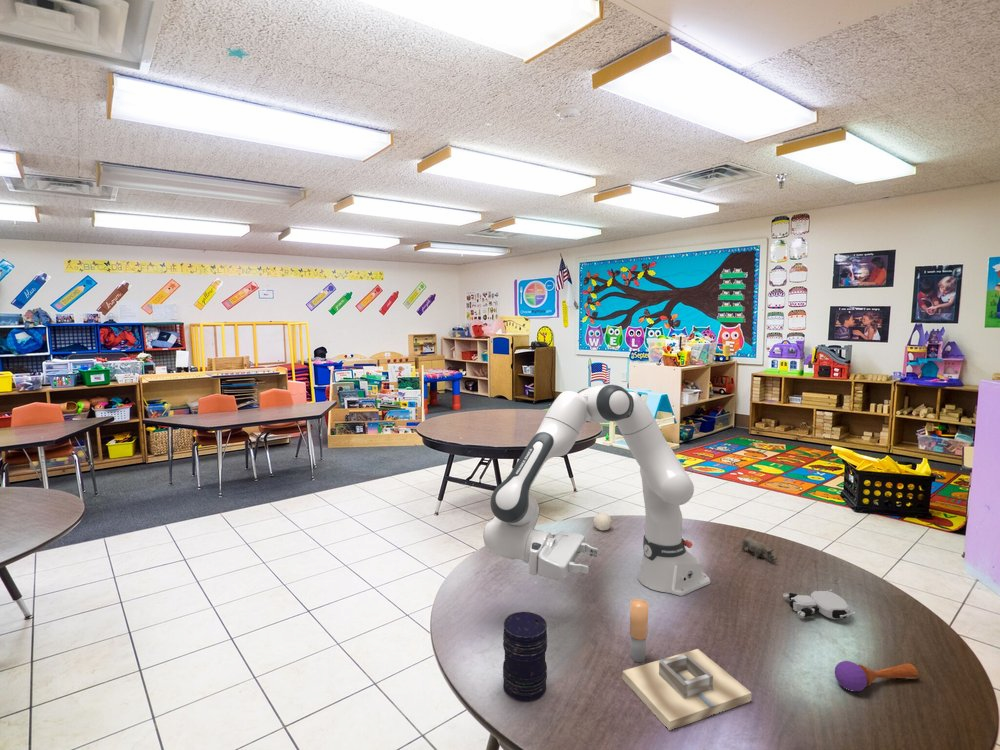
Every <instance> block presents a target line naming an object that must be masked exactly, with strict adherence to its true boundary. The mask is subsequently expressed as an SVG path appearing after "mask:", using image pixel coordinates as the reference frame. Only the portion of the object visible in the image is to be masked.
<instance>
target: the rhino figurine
mask: <svg viewBox="0 0 1000 750" xmlns="http://www.w3.org/2000/svg"><path fill="white" fill-rule="evenodd" d="M745 548H747V549H748V550H747V552H748V551H749V552H748V553H750V552H753V553H754V556H753V558H754V559H755V558H757V559H756V560H759V558H760V557H761V558H766V559H767V560H769V562H771V563H773V562H775V561H776V560H778V557H775V556H774V555H773V553H772V552H773V551H774V550H775V548H769V547H768V546H767V544H764V543H763V542H759V541H757V540H755V538H752V537H750V536H746V537H744V538H743V541H742V545H741V549H740V552H742V551H743V552H742V553H745V552H746V549H745ZM744 551H745V552H744ZM758 556H759V557H758ZM764 556H765V557H764ZM761 558H760V559H761Z"/></svg>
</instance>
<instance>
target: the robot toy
mask: <svg viewBox="0 0 1000 750" xmlns="http://www.w3.org/2000/svg"><path fill="white" fill-rule="evenodd" d="M832 591H833V589H829V590H814V591H812V592H811V594H810V595H806V594H805V595H801V594H797V593H792V592H789V593H785V592H784V593H783V594H782V597H783V598H784V599H789V603H788V604H789V607H790V608H792V610H794V612H797V615H798V616H800V617H804V618H808V617H811V616H812V614H817V613H820V614H821V615H823V616H824V617H826V618H828V619H832V620H836V619H837V620H840V619H845V620H846V619H847V618H849V617H850V616H851V615H854V616H855V615H856V614H857V612H855V611H854V612H851V609H850V608H851V607H850V605H849V604H848V602H847V601H846V600H845V599H844V598H842V597H841V596H839V595H838V594H836V593H834V592H832ZM850 612H851V613H850Z"/></svg>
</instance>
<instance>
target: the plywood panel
mask: <svg viewBox="0 0 1000 750" xmlns="http://www.w3.org/2000/svg"><path fill="white" fill-rule="evenodd" d="M621 678H622V680H623V681H624V682H625V684H626V685H627V686H628V687H629V688H630V689H631V690H632V691H633V692H634V694H635V695H636V696H637V697H638V698H639V699H640V700H641V701H642V702H643V704H644V705H645V706H646V708H648V709H649V710H650V711H651V713H653V714H654V715H656V716H655V717H656V718H657V719H658V720H659V721H660V722H661V723H662V724H663V726H664V727H665V726H666V727H667V728H668V729H669V730H670V731H672V730H671V729H673V730H675V729H674V728H676V729H678V728H681V727H685V726H686V725H687V726H688V725H689V724H691V723H695V722H698V721H700V720H704V719H706V718H708V716H709V717H711V715H712V716H714V715H713V714H715V715H717V714H719V712H720V713H723V712H725V710H726V711H728V710H730V709H733V708H736V706H737V707H739V705H740V706H741V705H745V704H748V703H751V702H752V692H751V691H750V690H749V689H748V688H746V687H745V686H744V685H743V684H741V682H739V681H738V680H736V678H734V677H733V676H732V675H731V674H729V673H728V672H727V671H726V670H724V669H723V668H722V666H721V667H720V665H718V664H717V663H716V662H715V661H713V660H712V659H711V658H709V657H708V656H707V655H706V654H705V653H704V652H702V651H701V650H700V649H699V648H696V649H695V648H694V649H693V650H689V651H685V652H682V653H678V654H675V655H672V656H668V657H665V658H662V659H658V660H654V661H652V662H648V663H645V664H642V665H638V666H634V667H630V668H627V669H625V670H624V669H623V670H622V677H621ZM750 701H751V702H750ZM722 711H723V712H722ZM680 726H681V727H680ZM677 727H678V728H677ZM667 728H666V729H667ZM669 730H668V731H669Z"/></svg>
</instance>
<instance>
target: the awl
mask: <svg viewBox="0 0 1000 750" xmlns="http://www.w3.org/2000/svg"><path fill="white" fill-rule="evenodd" d="M629 605H630V606H629V608H630V610H629V636H630V648H629V649H630V651H629V653H630V654H629V655H630V659H631V661H633V662H636V663H643V662H645V661H646V654H647V653H646V652H647V651H646V649H647V639H648V628H649V603H648V602H647V601H646V599H645V600H644V599H641V598H633V599H630V604H629Z"/></svg>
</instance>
